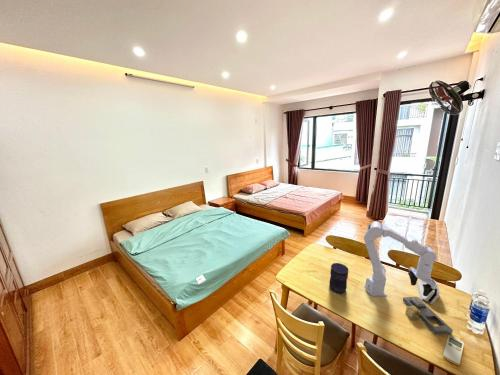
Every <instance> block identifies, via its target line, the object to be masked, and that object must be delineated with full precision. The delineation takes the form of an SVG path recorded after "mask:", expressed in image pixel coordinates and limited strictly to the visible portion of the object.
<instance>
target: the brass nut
mask: <svg viewBox="0 0 500 375" xmlns="http://www.w3.org/2000/svg"><path fill="white" fill-rule="evenodd" d="M420 314H421V312H420V311H419V310H418V309H417V308H416V307H415V306H407V305H406V309H405V315H406V316H407V317H408V318H409V320H411V321H419V320H420Z"/></svg>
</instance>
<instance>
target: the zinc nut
mask: <svg viewBox="0 0 500 375" xmlns="http://www.w3.org/2000/svg"><path fill="white" fill-rule="evenodd" d="M417 297H418V296H417ZM411 303H412V304H413V305H414V306H415V307H416V308H417V309H421V308H424V307H425V305H426V302H425V301H424V300H421V299H420V296H419V297H418V298H412V300H411Z"/></svg>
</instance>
